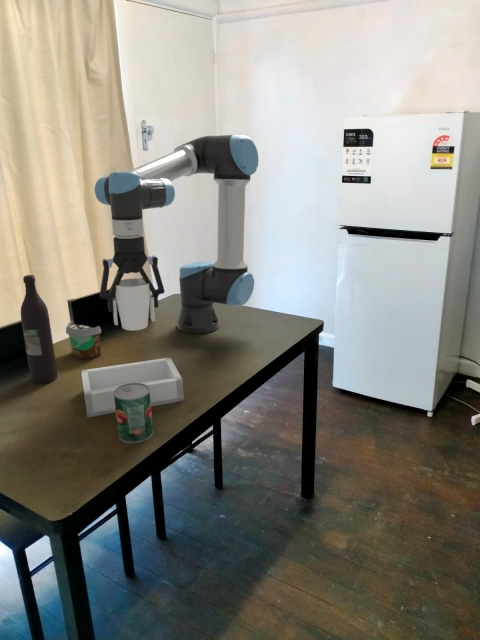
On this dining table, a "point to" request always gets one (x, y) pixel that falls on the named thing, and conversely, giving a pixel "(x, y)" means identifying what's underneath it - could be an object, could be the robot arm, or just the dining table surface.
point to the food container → (84, 340)
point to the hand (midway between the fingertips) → (134, 321)
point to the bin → (151, 373)
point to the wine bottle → (37, 335)
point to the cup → (133, 303)
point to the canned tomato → (133, 412)
